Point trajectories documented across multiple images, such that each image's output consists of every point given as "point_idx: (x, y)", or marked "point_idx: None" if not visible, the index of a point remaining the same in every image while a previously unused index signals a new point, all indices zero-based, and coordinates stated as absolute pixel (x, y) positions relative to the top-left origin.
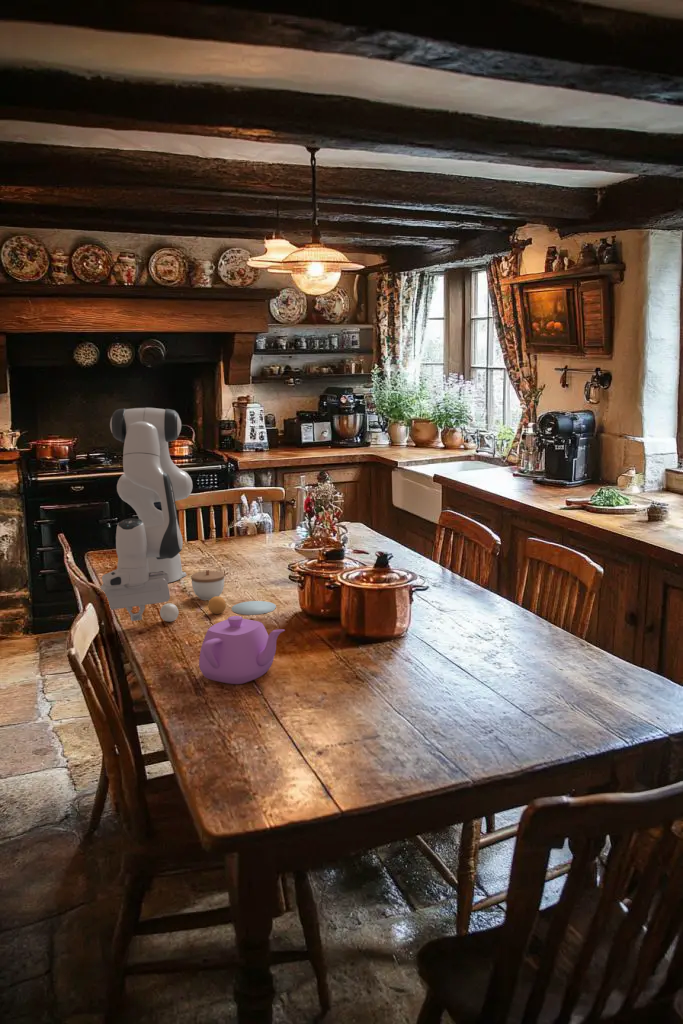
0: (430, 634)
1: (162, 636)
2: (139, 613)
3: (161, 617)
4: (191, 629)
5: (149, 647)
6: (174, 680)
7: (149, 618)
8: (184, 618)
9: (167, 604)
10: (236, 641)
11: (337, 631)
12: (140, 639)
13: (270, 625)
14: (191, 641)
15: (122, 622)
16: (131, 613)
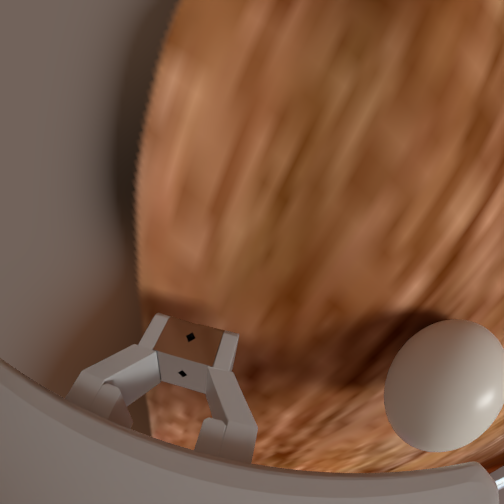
0: (499, 481)
1: (264, 434)
2: (208, 394)
3: (392, 363)
4: (390, 435)
5: (190, 446)
6: None
7: (396, 187)
8: (501, 337)
9: (444, 448)
10: None
11: None
12: (180, 411)
13: (495, 451)
14: (309, 470)
15: (146, 132)
16: (134, 391)
